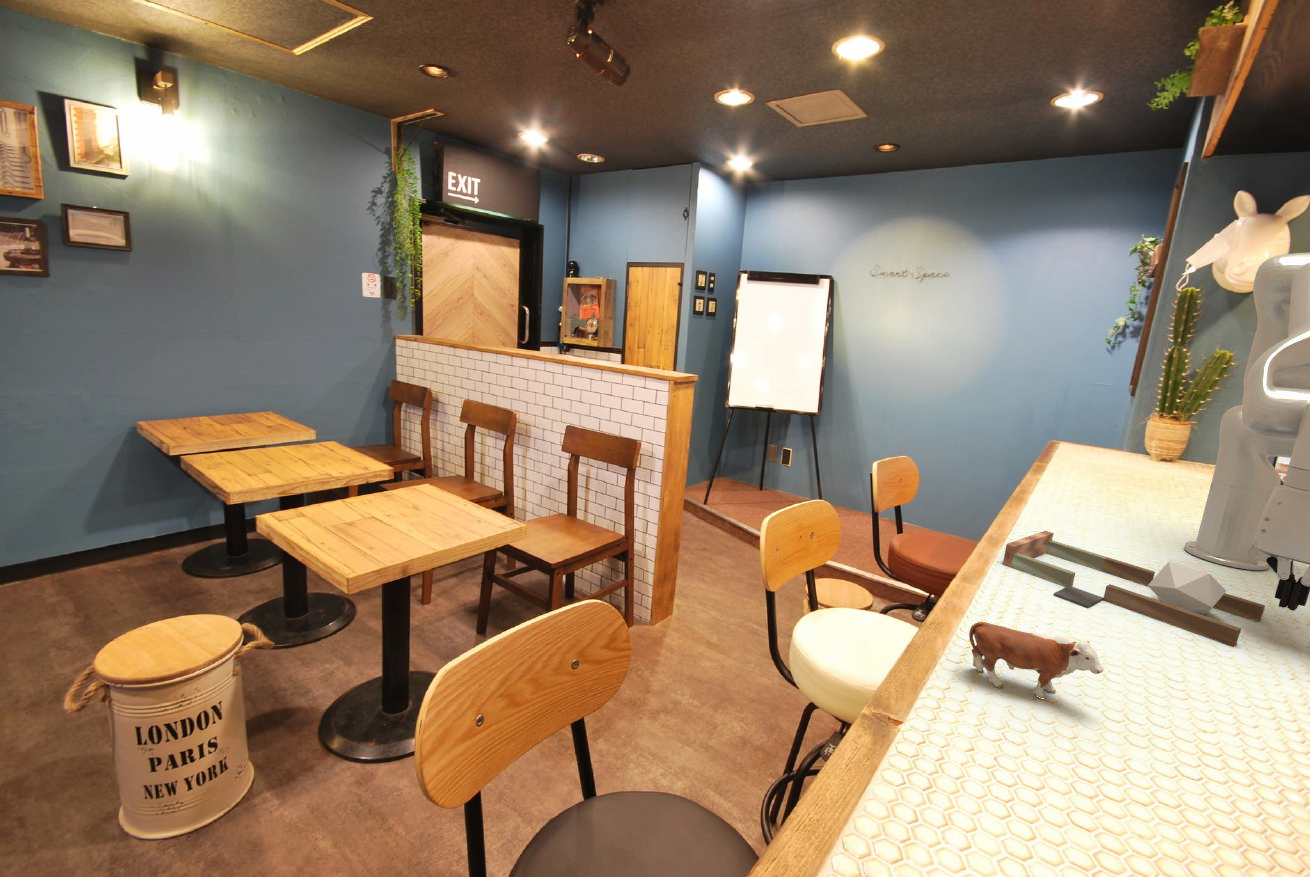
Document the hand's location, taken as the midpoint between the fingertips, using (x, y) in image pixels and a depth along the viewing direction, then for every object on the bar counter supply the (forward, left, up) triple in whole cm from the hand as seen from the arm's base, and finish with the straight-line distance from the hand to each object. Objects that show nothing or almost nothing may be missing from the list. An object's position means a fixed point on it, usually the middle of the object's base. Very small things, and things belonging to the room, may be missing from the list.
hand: (1288, 606), depth 85 cm
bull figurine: (+47, -14, -6) cm, 49 cm away
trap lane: (0, -19, -6) cm, 20 cm away
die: (0, -11, -6) cm, 13 cm away
